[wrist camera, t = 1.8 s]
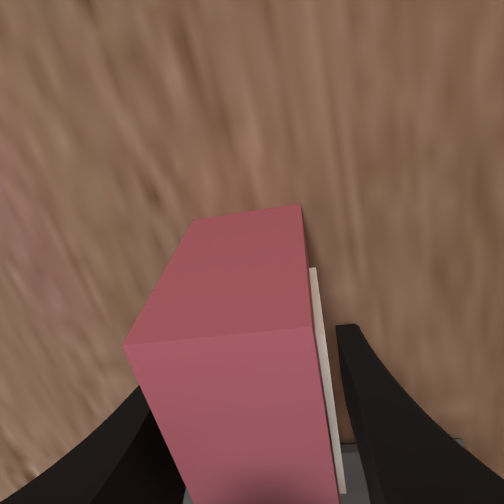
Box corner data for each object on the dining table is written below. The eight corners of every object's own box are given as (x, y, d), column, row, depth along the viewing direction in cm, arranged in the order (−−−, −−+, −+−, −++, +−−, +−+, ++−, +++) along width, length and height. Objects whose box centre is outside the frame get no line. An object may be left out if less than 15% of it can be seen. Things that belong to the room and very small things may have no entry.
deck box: (247, 408, 16) (228, 580, 11) (193, 219, 12) (121, 345, 7) (334, 402, 16) (358, 581, 10) (306, 201, 12) (323, 325, 6)
